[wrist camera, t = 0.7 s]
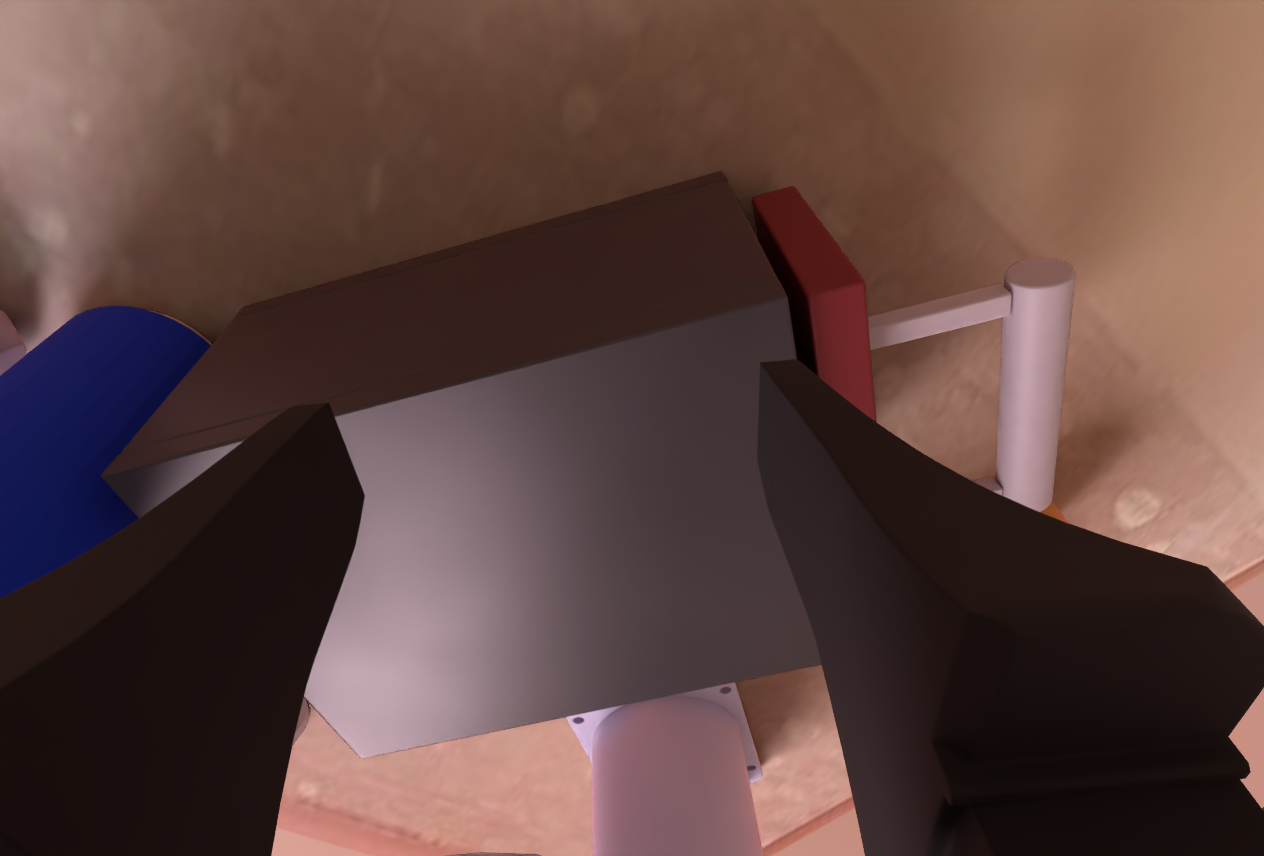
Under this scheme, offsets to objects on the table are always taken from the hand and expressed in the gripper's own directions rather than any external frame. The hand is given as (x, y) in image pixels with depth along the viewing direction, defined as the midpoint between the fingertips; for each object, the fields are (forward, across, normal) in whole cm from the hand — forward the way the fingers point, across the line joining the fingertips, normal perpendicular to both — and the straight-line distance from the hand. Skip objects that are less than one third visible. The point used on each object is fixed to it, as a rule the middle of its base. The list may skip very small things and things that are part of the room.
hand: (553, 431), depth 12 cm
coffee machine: (+10, +2, +6) cm, 12 cm away
